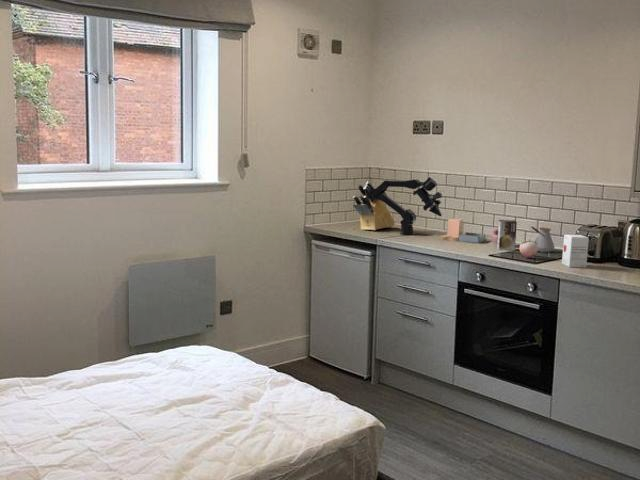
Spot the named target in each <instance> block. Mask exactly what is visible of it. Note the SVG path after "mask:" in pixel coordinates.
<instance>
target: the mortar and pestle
mask: <svg viewBox="0 0 640 480" xmlns="http://www.w3.org/2000/svg"><path fill="white" fill-rule="evenodd" d="M491 240H492V242H493V243H494V244H495V245H497V243H498V227H496V228H493V230H492V231H491Z"/></svg>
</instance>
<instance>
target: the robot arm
mask: <svg viewBox="0 0 640 480" xmlns="http://www.w3.org/2000/svg"><path fill="white" fill-rule="evenodd" d="M437 186H438V183H437V181H436V180H435V179H433V178H432V177H429V176H428V177H427V179H426V180H425V181H424V182H423V181H420V179H417V178H416V179H410V180H383V181H382V183H380V184H379V185H378V186H377V187H376V188H374V190H373V191H372V196H373V197H374V198H376V199H378V200H381V201H383V202H384V204H385V205H387V206H388V207H389V208H391V209H393V211H395V212H396V213H397V214H399V215H400V217H401V220H400V225H401V226H400V228H401V229H400V233H399V234H400V235H403V236H414V227H413V224H414V222H415V221H417V214H416V212H413V210H412V209H410V208H408V209H405V208H403V207H402V206H401V205H400V204H398V203H397V202H396V201H394V199H392V198H391V197H389V196H388V194H387V193H386V191H387V190H388V189H389V188H390V187H392V188H393V187H394V188H396V187H397V188H406V189H410V190H411V189H412V190H413V194H412V195H413V196H418V197H419V198H420V199H421V202H422V203H423V204H424V205H423V207H422V208H423V211H424V212H426V211H428V212H431V213H433V214H434V215H436V216H439V217H442V216H443V214H442V212H441V210H440V208H439V205H440V204H442V201H441V198H443V196H442V195H443V194H442V192H440V191H436V192H435V194H429V192H432V190H433V189H435V188H436V187H437Z"/></svg>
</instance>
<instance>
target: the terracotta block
mask: <svg viewBox="0 0 640 480" xmlns="http://www.w3.org/2000/svg"><path fill="white" fill-rule="evenodd" d="M463 223H464V219H461V218H449V219H447V231H446V234H447V236H451V237H459V235H463V227H464V225H463Z"/></svg>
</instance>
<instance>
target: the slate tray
mask: <svg viewBox="0 0 640 480" xmlns="http://www.w3.org/2000/svg"><path fill="white" fill-rule="evenodd" d="M485 241H486V233H479V232H477V233H476V232H468V231H466V232H465V234H462V235H459V241H458V242H460V243H469V244H470V243H472V244H481V243H483V242H485Z"/></svg>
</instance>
